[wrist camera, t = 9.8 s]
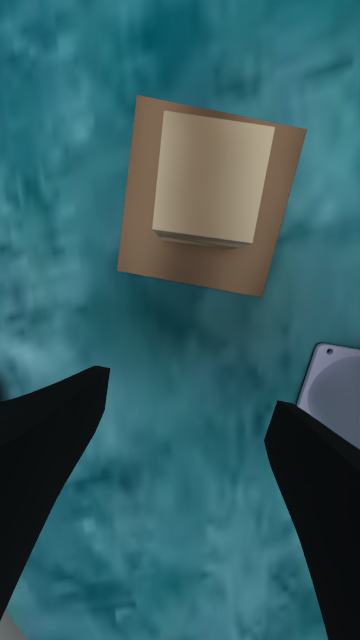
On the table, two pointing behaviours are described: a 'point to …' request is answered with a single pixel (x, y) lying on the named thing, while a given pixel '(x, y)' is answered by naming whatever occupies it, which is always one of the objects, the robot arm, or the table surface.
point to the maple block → (210, 180)
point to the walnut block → (194, 260)
